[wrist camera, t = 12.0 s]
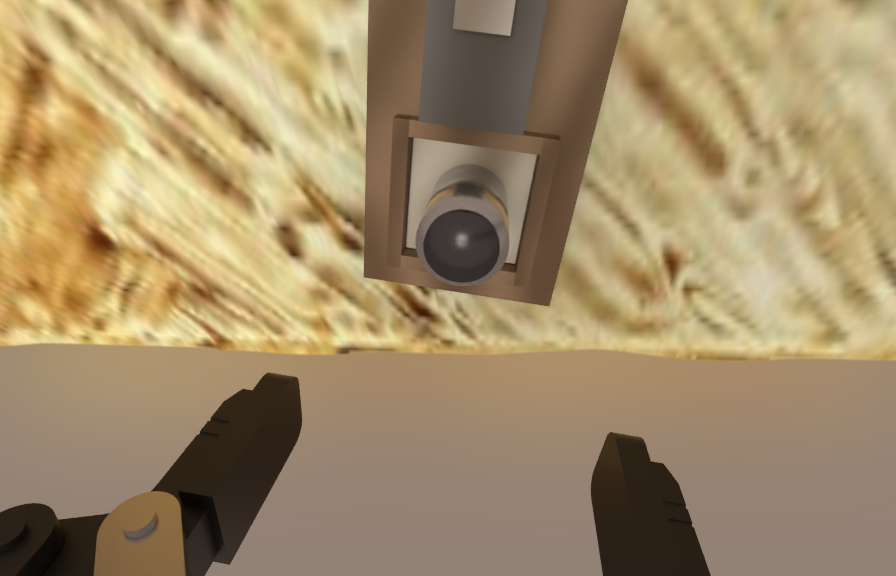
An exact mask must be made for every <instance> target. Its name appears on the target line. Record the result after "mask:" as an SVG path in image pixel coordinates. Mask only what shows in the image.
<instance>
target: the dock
mask: <svg viewBox="0 0 896 576" xmlns="http://www.w3.org/2000/svg"><path fill="white" fill-rule="evenodd" d="M627 1H628V0H369V15H368V73H367V130H366V188H365V245H364V277H366V278H372V279H379V280H385V281H391V282H398V283H404V284H410V285H417V286H423V287H430V288H436V289H442V290H449V291H455V292H461V293H468V294H474V295H480V296H487V297H493V298H500V299H506V300H512V301H519V302H525V303H531V304H538V305H544V306H549V305H550V301H551V297H552V293H553V289H554V286H555V282H556V278H557V274H558V270H559V266H560V262H561V258H562V254H563V251H564V247H565V243H566V239H567V235H568V231H569V227H570V223H571V219H572V216H573V212H574V208H575V204H576V200H577V196H578V192H579V188H580V184H581V181H582V177H583V173H584V169H585V165H586V161H587V157H588V153H589V149H590V145H591V142H592V138H593V134H594V130H595V126H596V122H597V118H598V114H599V110H600V107H601V103H602V99H603V95H604V91H605V87H606V83H607V79H608V75H609V72H610V68H611V64H612V60H613V56H614V52H615V48H616V44H617V40H618V36H619V33H620V29H621V25H622V21H623V17H624V13H625V9H626V5H627ZM466 164H472V165H478V166H482V167H484V168H487V169H488V170H490V171H492V172H493V173H494V174H495V175H496V176H497V177H498V178H499V179H500V180H501V182H502V184H503V185H504V188H505V190H506V194H507V206H508V226H509V252H508V256H507V259H506V261H505V263H504V265H503V266H502V268H501V269H500V270H499V271H498V272H497V274H495V275H494V276H493V277H492V278H490V279H489V280H487V281H485V282H483V283H480V284H477V285H472V286H455V285H451V284H447V283H445V282H442V281H440V280H438V279H437V278H435V277H434V276H432V275H431V274H430V273H429V272H428V271H427V270H426V269H425V268H424V266H423V265H422V263H421V261H420V260H419V257H418V255H417V251H416V244H415V239H416V233H417V229H418V226H419V224H420V221H421V219H422V216H423V214H424V212H425V209H426V207H427V204H428V202H429V199H430V197H431V194H432V192H433V190H434V187H435V185H436V183H437V181H438V180H439V179H440V177H441V176H442V175H443V174H444V173H446V172H447V171H448V170H450V169H452V168H454V167H456V166H460V165H466Z"/></svg>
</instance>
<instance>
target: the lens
mask: <svg viewBox="0 0 896 576" xmlns="http://www.w3.org/2000/svg"><path fill="white" fill-rule="evenodd" d="M415 244H416V251H417V255H418V257H419V260H420V261H421V263H422V265H423V266H424V268H425V269H426V270H427V271H428V272H429V273H430V274H431V275H432V276H434V277H435V278H437V279H438V280H440V281H442V282H445V283H447V284H451V285H455V286H472V285H477V284H480V283H483V282H485V281H487V280H489V279H490V278H492V277H493V276H494V275H495V274H497V272H498V271H499V270H500V269H501V268H502V266H503V265H504V263H505V261H506V259H507V256H508V252H509V226H508V206H507V194H506V190H505V188H504V185H503V184H502V182H501V180H500V179H499V178H498V177H497V176H496V175H495V174H494V173H493V172H492V171H490V170H488V169H487V168H484V167H482V166H478V165H472V164H466V165H460V166H456V167H454V168H452V169H450V170H448V171H447V172H446V173H444V174H443V175H442V176H441V177H440V179H439V180H438V181H437V183H436V185H435V187H434V190H433V192H432V194H431V197H430V199H429V202H428V204H427V207H426V209H425V212H424V214H423V216H422V219H421V221H420V224H419V226H418V229H417V233H416V239H415Z"/></svg>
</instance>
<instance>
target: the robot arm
mask: <svg viewBox="0 0 896 576" xmlns="http://www.w3.org/2000/svg"><path fill="white" fill-rule="evenodd" d="M301 426H302V412H301V401H300V389H299V381H298V378H297V377H292V376H287V375H280V374H275V373H266V374H265V375H264V376H263V377H262V378H261V380H260V381H259V383H258V384H257V385H256V387H255V388H254V389H253V390H246V389H242V390H241V391H239V392H237V393H236V394H235V395H233V396H232V397H230V398H229V399H227V400H226V401H224V402H223V403H222V405H221V406H220V407H219V408H218V410H217V411H216V412H215V414H214V415H213V416H212V417H211V420H210V421H208V422H207V423H206V425H205V426H204V427H203V428H202V429H201V431H200V434H199V435H197V436H196V437H195V438H194V440H193V441H192V442H191V443H190V444H189V446H188V447H187V448H186V449H185V451H184V452H183V453H182V454H181V456H180V457H179V458H178V459H177V461H176V462H175V463H174V464H173V466H172V467H171V468H170V469H169V471H168V472H167V473H166V474H165V476H164V477H163V478H162V479H161V481H160V482H159V483H158V484H157V485H156V487H155V488H154V489H153V490H152V491H151V492H146V493H143V494H139V495H137V496H134V497H132V498H130V499H128V500H126V501H125V502H123V503H121V504H120V505H119V506H117V507H116V508H115V509H114V510H113V511H112V512H111V513H109V514H103V515H95V516H86V517H78V518H69V519H61V520H58V519H57V517H56V515H55V513H54V511H53V510H52V509H51V508H50V507H48V506H46V505H43V504H37V503H32V504H24V505H19V506H16V507H13V508H10V509H7V510H5V511H3V512H1V513H0V576H205V574H206V572H207V571H208V569H209V567H210V566H211V564H212V562H213V561H214V562H219V563H224V564H230V563H231V561H232V560H233V558H234V556H235V554H236V552H237V550H238V549H239V547H240V545H241V543H242V541H243V539H244V538H245V536H246V534H247V532H248V530H249V528H250V526H251V525H252V523H253V521H254V519H255V517H256V516H257V514H258V512H259V510H260V508H261V506H262V505H263V503H264V501H265V499H266V497H267V496H268V493H269V492H270V490H271V488H272V486H273V485H274V483H275V481H276V479H277V477H278V475H279V473H280V472H281V470H282V468H283V466H284V464H285V462H286V461H287V459H288V457H289V455H290V453H291V452H292V450H293V447H294V446H295V444H296V442H297V440H298V437H299V434H300V431H301ZM591 499H592V506H593V512H594V519H595V525H596V532H597V539H598V545H599V552H600V559H601V565H602V571H603V576H710V572H709V570H708V567H707V564H706V561H705V558H704V555H703V553H702V550H701V547H700V544H699V541H698V538H697V535H696V532H695V529H694V528H693V527H692V521H691V518H690V515H689V512H688V510H687V509H686V504H685V501H684V498H683V495H682V493H681V490H680V487H679V484H678V482H677V481H676V480H675V478H674V477H673V476H672V474H671V473H670V472H669V471H668V469H667V468H666V467H665V465H664V464H662V463H657V462H651V461H650V458H649V454H648V451H647V448H646V444H645V442H644V440H643V439H642V438H641V437H636V436H630V435H624V434H618V433H613V432H610V433H609V434H608V435H607V437H606V440H605V442H604V445H603V448H602V450H601V453H600V456H599V458H598V461H597V464H596V466H595V469H594V472H593V475H592V482H591Z"/></svg>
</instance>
